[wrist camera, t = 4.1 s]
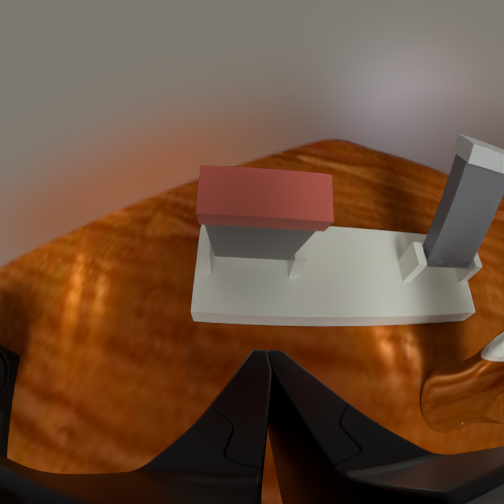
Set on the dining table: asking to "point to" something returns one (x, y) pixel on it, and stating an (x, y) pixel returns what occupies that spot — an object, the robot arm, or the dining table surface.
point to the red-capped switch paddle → (262, 210)
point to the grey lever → (466, 204)
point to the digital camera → (6, 393)
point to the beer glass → (467, 390)
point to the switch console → (333, 283)
